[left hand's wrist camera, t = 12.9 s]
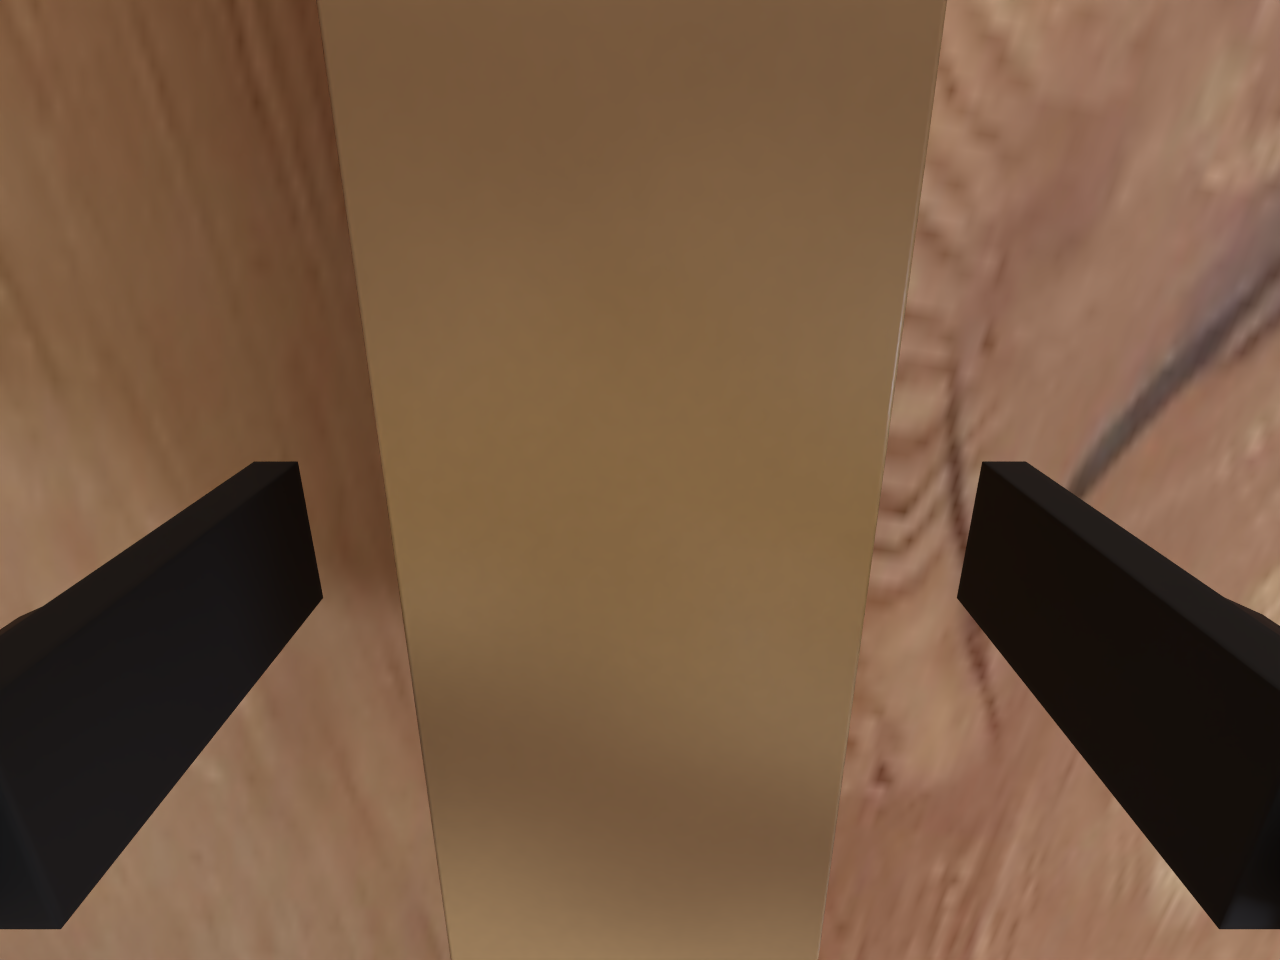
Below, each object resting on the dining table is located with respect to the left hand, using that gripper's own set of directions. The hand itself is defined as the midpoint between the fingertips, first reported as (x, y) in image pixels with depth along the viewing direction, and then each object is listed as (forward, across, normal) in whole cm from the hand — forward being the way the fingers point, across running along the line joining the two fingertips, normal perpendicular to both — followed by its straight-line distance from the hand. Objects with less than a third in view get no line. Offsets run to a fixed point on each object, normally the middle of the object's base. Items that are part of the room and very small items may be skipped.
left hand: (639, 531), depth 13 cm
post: (+4, 0, -21) cm, 21 cm away
